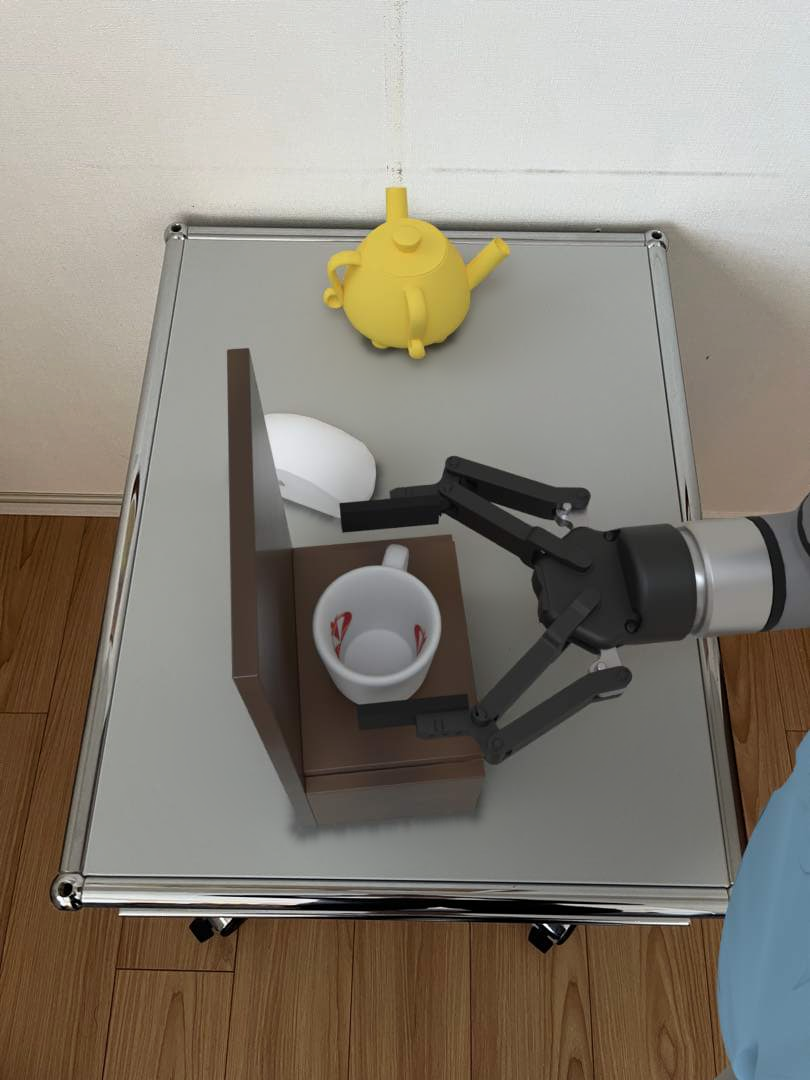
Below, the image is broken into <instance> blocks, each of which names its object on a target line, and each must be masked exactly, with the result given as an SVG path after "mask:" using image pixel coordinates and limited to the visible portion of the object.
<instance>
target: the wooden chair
mask: <svg viewBox="0 0 810 1080" xmlns="http://www.w3.org/2000/svg"><path fill="white" fill-rule="evenodd" d="M255 373H256V372H255V369H254V364H253V359H252V355H251V351H250V348H249V347H242V348H240V347H239V348H228V349H227V350H226V384H227V385H226V388H227V391H226V392H227V397H226V398H227V450H228V451H227V452H228V509H229V510H228V511H229V512H228V513H229V514H228V517H229V518H228V521H229V522H228V523H229V575H230V577H229V579H230V585H229V586H230V641H231V643H230V645H231V679H232V681H233V683H234V685H235V687H236V689H237V692H238V694H239V696H240V698H241V700H242V702H243V705H244V706H245V709H246V711H247V713H248V715H249V717H250V719H251V722H252V723H253V727H254V728H255V730H256V732H257V735H258V737H259V738H260V741H261V742H262V745H263V747H264V749H265V751H266V754H267V755H268V758H269V760H270V762H271V764H272V766H273V768H274V770H275V772H276V774H277V777H278V779H279V781H280V783H281V786H282V787H283V790H284V792H285V793H286V796H287V798H288V800H289V802H290V804H291V807H292V809H293V810H294V813H295V815H296V818H297V819H298V821H299V823H300V825H301V828H303V829H304V828H316V827H325V826H334V825H343V824H353V823H365V822H374V821H383V820H394V819H402V818H412V817H421V816H431V815H432V816H433V815H443V814H452V813H462V812H471V811H474V810H475V808H476V805H477V803H478V799H479V796H480V793H481V791H482V788H483V785H484V782H485V779H486V769H485V768H486V767H485V762H484V760H485V759H484V753H483V751H482V750H481V748H480V746H479V744H478V742H477V741H476V740H475V739H474V738H472V737H470V736H458V737H448V738H439V739H429V740H424V739H421V738H417V734H416V725H409V726H399V727H389V728H379V729H370V730H360V731H359V724H358V716H357V705H359V704H357V703H355V702H353V701H351V700H350V699H348V698H347V697H346V696H345V695H344V694H343V693H342V692H341V691H340V690H339V689H338V688H337V686H336V685H335V683H334V681H333V680H332V678H331V676H330V674H329V672H328V670H327V668H326V666H325V664H324V663H323V661H322V659H321V657H320V655H319V653H318V651H317V649H316V646H315V643H314V638H313V632H312V622H313V615H314V611H315V608H316V605H317V603H318V601H319V599H320V597H321V595H322V594H323V592H324V591H325V590H326V589H327V587H328V586H329V585H330V584H331V583H332V582H334V581H335V580H336V579H337V578H339V577H340V576H342V575H344V574H345V573H347V572H349V571H352V570H355V569H357V568H361V567H366V566H381V565H382V562H383V558H384V555H385V552H386V549H387V547H388V546H389V545H392V544H396V545H402V546H405V547H406V548H407V549H408V551H409V558H408V566H407V573H409V574H411V575H413V576H414V577H416V578H417V579H418V580H420V581H421V582H422V583H423V584H424V585H425V586H426V587H427V588H428V589H429V591H430V592H431V593H432V595H433V597H434V598H435V600H436V603H437V605H438V608H439V611H440V616H441V635H440V640H439V644H438V646H437V649H436V652H435V654H434V657H433V659H432V662H431V664H430V667H429V669H428V672H427V674H426V677H425V679H424V681H423V683H422V684H421V686H420V687H419V688H418V690H417V691H416V692H415V693H414V694H413V695H412V696H411V697H409V698H408V699H418V698H428V697H438V696H448V695H458V694H467V695H468V702H469V709H470V708H473V706H474V705H475V704H476V705H477V704H478V703H479V702H478V696H477V690H476V683H475V676H474V669H473V661H472V654H471V648H470V641H469V633H468V626H467V620H466V611H465V606H464V605H465V604H464V598H463V592H462V584H461V577H460V570H459V563H458V556H457V550H456V548H457V547H456V541H455V540H454V539H453V534H451V533H450V534H438V535H427V536H426V535H425V536H424V535H423V536H414V537H402V538H390V539H380V540H369V541H368V540H367V541H357V542H356V541H355V542H345V543H334V544H321V545H310V546H309V545H308V546H299V547H297V546H296V547H293V543H292V538H291V534H290V529H289V525H288V521H287V516H286V510H285V505H284V502H283V497H282V496H281V492H280V487H279V483H278V478H277V473H276V469H275V464H274V460H273V455H272V450H271V446H270V441H269V437H268V432H267V428H266V423H265V418H264V415H265V414H264V409H263V405H262V401H261V396H260V391H259V387H258V381H257V378H256V374H255ZM408 699H407V700H408Z"/></svg>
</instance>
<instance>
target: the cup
mask: <svg viewBox="0 0 810 1080" xmlns="http://www.w3.org/2000/svg"><path fill="white" fill-rule="evenodd" d="M408 558H409V551H408V549H407V548H406V547H405V546H402V545H396V544H392V545H389V546H388V547H387V549H386V552H385V555H384V558H383V562H382V565H381V566H366V567H361V568H357V569H355V570H352V571H349V572H347V573H345V574H344V575H342V576H340V577H339V578H337V579H336V580H335V581H334V582H332V583H331V584H330V585H329V586H328V587H327V589H326V590H325V591H324V592H323V594H322V595H321V597H320V599H319V601H318V603H317V605H316V608H315V611H314V615H313V622H312V632H313V638H314V643H315V646H316V649H317V651H318V653H319V655H320V657H321V659H322V661H323V663H324V664H325V666H326V668H327V670H328V672H329V674H330V676H331V678H332V680H333V681H334V683H335V685H336V686H337V688H338V689H339V690H340V691H341V692H342V693H343V694H344V695H345V696H346V697H347V698H348V699H350V700H351V701H353V702H355V703H357V704H368V703H378V702H388V701H398V700H407V699H408V698H409V697H411V696H412V695H413V694H414V693H415V692H416V691H417V690H418V688H419V687H420V686H421V684H422V683H423V681H424V679H425V677H426V674H427V672H428V669H429V667H430V664H431V662H432V659H433V657H434V654H435V652H436V649H437V646H438V644H439V640H440V635H441V616H440V611H439V608H438V605H437V603H436V600H435V598H434V597H433V595H432V593H431V592H430V591H429V589H428V588H427V587H426V586H425V585H424V584H423V583H422V582H421V581H420V580H418V579H417V578H416V577H414V576H413V575H411V574H409V573H407V566H408Z"/></svg>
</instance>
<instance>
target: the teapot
mask: <svg viewBox="0 0 810 1080" xmlns="http://www.w3.org/2000/svg"><path fill="white" fill-rule="evenodd" d="M407 191H408V190H407V187H406V186H392V187H390V186H389V187H385V222H383V223H381V224H380V225H378V226H377V227H376V228H374V229H373V230H372V231H371V232H369V234H367V235H366V237H365V238H364V239H363V240H362V241H361V242H360V243H359V244H358V246H357V247H356V249H355V250H350V249H349V250H342V251H339V252H337V253H335V254H333V255H332V256H331V257H330V258H329V260H328V262H327V266H326V273H327V278H328V280H329V283H330V285H331V286H330V287H327V288H326V289H325V290H324V291H323V295H322V300H323V302H324V304H325V305H326V306H327V307H329V308H331V309H335V310H337V309H341V308H343V310H344V313H345V316H346V317H347V319H348V320H349V322H350V323H351V325H352V326H353V328H355V329H356V331H357V332H359V333H360V334H361V335H363V336H364V337H366V338H368V339H369V340H371V343H372V345H373V346H374V347H375V348H378V349H383V350H384V349H388V348H396V349H408V350H407V351H408V354H409V355H410V357H411V358H412V359H415V360H421V359H422V358H425V356H426V351H425V347H426V346H430V345H433V344H439V343H443V342H444V341H446V339H447V338H448V337H449V336H450V335H451V334H453V333H454V332H455V331H456V330H457V329H458V328H459V327H460V325H461V324H462V323H463V322H464V320H465V318H466V316H467V314H468V312H469V309H470V306H471V291H472V290H474V289H475V288H476V287H477V286H478V285H480V283H481V282H482V281H484V280H485V278H486V277H487V276H488V275H489V274H490V273H491V272H492V271H494V270H495V269H496V268H497V267H498V266H499V265H500V264H501V263H502V262H503V261H504V260H505V259H506V258H507V257H509V255H510V254H511V250H510V247H509V245H508V244H507V243H506V242H505V241H504V240H503V239H502V238H500V237H498V236H496V237H494V238H493V239H492V240H490V242H489V243H488V244H487V245H486V246H485V247H484V248H482V250H481V251H479V252H478V254H476V256H474V257H473V258H472V259H471V260H470V261H469V262H468V263H467V264H466V263H465V262H464V260H463V258H462V256H461V254H460V252H459V251H458V250H457V248H456V246H455V245H454V244H453V243H452V242H451V240H450V239H449V238H448V237H447V236H446V235H445V234H444V232H442V231H441V230H440V229H438V228H437V227H436V226H434V225H433V224H431V223H429V222H427V221H425V220H421V219H418V218H409V208H408V194H407V193H408V192H407ZM343 266H346V267H345V271H344V274H343V277H342V278H343V279H342V282H341V280H340V279H339V276H338V273H337V271H336V270H337V269H338V268H340V267H343Z"/></svg>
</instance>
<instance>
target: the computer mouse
mask: <svg viewBox="0 0 810 1080" xmlns="http://www.w3.org/2000/svg"><path fill="white" fill-rule="evenodd" d="M264 418H265V423H266V428H267V432H268V437H269V441H270V446H271V450H272V455H273V460H274V464H275V469H276V473H277V478H278V483H279V487H280V492H281V496H282V499H285V500H288V501H291V502H294V503H296V504H299V505H302V506H304V507H307V508H309V509H313V510H315V511H318V512H321V513H323V514H325V515H329V516H331V517H334V518H337V519H341V516H340V506H339V503H345V502H357V501H368V500H371V498H372V497H373V495H374V492H375V487H376V478H377V469H376V468H377V467H376V460H375V457H374V456H373V454H372V452H370V450H369V449H368V448H367V446H366V445H365V443H363V442H362V441H361V440H358V439H357V438H356V437H354V436H352V435H351V434H348V433H347V432H346V431H344V430H342V429H341V428H339V427H336V426H333V425H331V424H329V423H326V422H324V421H322V420H319V419H316V418H313V417H311V416H307V415H306V416H305V415H302V414H301V415H300V414H295V413H279V412H278V413H277V412H276V413H267V414H264Z"/></svg>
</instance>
